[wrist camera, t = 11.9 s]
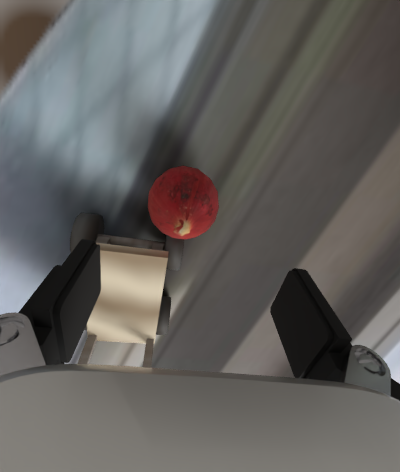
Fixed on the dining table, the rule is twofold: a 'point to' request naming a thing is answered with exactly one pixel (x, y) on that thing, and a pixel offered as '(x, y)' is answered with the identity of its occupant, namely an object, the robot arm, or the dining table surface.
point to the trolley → (128, 287)
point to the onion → (183, 202)
